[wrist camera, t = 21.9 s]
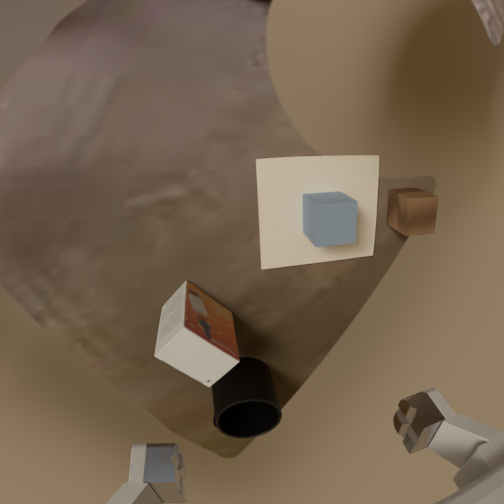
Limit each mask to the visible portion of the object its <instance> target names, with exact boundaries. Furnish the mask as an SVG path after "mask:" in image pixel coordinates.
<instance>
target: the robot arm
mask: <svg viewBox="0 0 504 504" xmlns="http://www.w3.org/2000/svg"><path fill="white" fill-rule="evenodd" d="M398 406H399V409H398V411H396V413H395V415H394V418H393V420H394V427H395V429H396V431H397V433H398V434H399V435H401V436H403V444H404V445H405V447H406V449H407V451H408V452H409V454H411V453H414V452H416V451H419V450H421V449H424V448H426V447H428V449H429V450H431V451H433V452H434V453H436V454H437V455H439V456H441V457H442V458H444V459H446V460H447V461H449V462H451V463H452V464H454V465H456V466H457V467H459V468H461V469H460V470H459V471H458V472H457V474H456V475H455V476H454V478H453V480H454V482H455V484H456V485H457V487H458V489H459V490H458V491H456V492H455V493H453V494H451V495H449V496H447V497H446V498H444V499H442V500H440V501H438V502H436V503H434V504H504V433H503V432H502V431H500V430H498V429H495V428H493V427H490V426H488V425H486V424H483V423H481V422H478V421H476V420H473V419H471V418H469V417H466V416H464V415H462V414H459V413H458V414H455V412H454V411H453V410H452V408H451V407H450V406H449V404H448V403H447V402H446V400H445V399H444V398H443V397H442V395H441V394H440V393H439V391H438V390H437V389H435V388H431V389H428V390H426V391H423V392H420V393H417V394H415V395H412V396H409V397H407V398H404V399H402V400H401V401H400V402H399V404H398ZM185 477H186V470H185V463H184V460H183V456H182V454H181V453H179V447H178V445H177V443H157V444H156V443H154V444H149V443H141V444H140V443H137V444H136V443H135V444H133V447H132V452H131V462H130V473H129V482H125V483H124V484H123V485H122V486H121V487H120V488H119V490H118V491H117V492H116V493H115V494H114V495H113V496H112V498H111V499H110V500H109V501H108V502H107V503H106V504H163V503H184V502H187V489H186V486H185V484H184V482H183V480H184V479H185Z"/></svg>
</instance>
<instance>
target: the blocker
mask: <svg viewBox="0 0 504 504" xmlns="http://www.w3.org/2000/svg"><path fill="white" fill-rule="evenodd" d="M437 202H438V197H437V196H435V195H433V194H430V193H428V192H425V191H423V190H421V189H418V188H404V189H389V195H388V211H387V225H389V226H390V227H392V228H393V229H395V230H396V231H398V232H399V233H401V234H403V235H404V236H412V235H420V234H429V233H434V228H435V221H436V212H437Z"/></svg>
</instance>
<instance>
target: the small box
mask: <svg viewBox="0 0 504 504" xmlns="http://www.w3.org/2000/svg"><path fill="white" fill-rule="evenodd" d="M154 356H155V357H156V358H158V359H160V360H162V361H164V362H166V363H167V364H169V365H171V366H173V367H174V368H176V369H178V370H180V371H181V372H183V373H185V374H187V375H188V376H190V377H192V378H194V379H196V380H197V381H199V382H201V383H202V384H204V385H206V386H207V387H210V386H212V385H213V384H214V383H215V382H216V381H218V380H219V379H220V378H221V377H222V376H224V375H225V374H226V373H227V372H228V371H229V370H231V369H232V368H233V367H234V366H235V365H236V364H237V363H239V361H240V359H239V353H238V347H237V341H236V335H235V329H234V322H233V316H232V312H231V311H230V310H228V309H227V308H225V307H224V306H222V305H221V304H219V303H218V302H216V301H215V300H214V299H212V298H211V297H210V296H208V295H207V294H205V293H204V292H203V291H201V290H200V289H199V288H197V287H196V286H195V285H193V284H192V283H191V282H189V281H188V280H186V281H185V282H184V283H183V285H182V286H181V287H180V288H179V289H178V290H177V291H176V292H175V293H174V294H173V295H172V297H171V298H170V299H169V300H168V301H167V302H166V303H165V304H164V306H163V307H162V312H161V318H160V323H159V329H158V335H157V342H156V348H155V355H154Z"/></svg>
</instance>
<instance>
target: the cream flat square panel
mask: <svg viewBox="0 0 504 504" xmlns="http://www.w3.org/2000/svg"><path fill="white" fill-rule="evenodd" d="M256 172H257V191H258V211H259V231H260V251H261V269H270V268H279V267H287V266H295V265H303V264H311V263H319V262H327V261H335V260H343V259H350V258H358V257H365V256H373V251H374V241H375V229H376V215H377V199H378V177H379V156H378V155H343V156H342V155H340V156H339V155H338V156H302V157H281V158H264V159H256ZM337 191H341V192H342V193H344V194H346V195H348V196H349V197H351V198H353V199H355V200H356V201H358V206H357V227H356V243H349V244H341V245H332V246H324V247H315V246H314V245H313V244H312V243H311V241H310V240H309V239H308V238H307V237H306V236H305V234H304V233H303V196H302V194H307V193H322V192H337Z"/></svg>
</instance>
